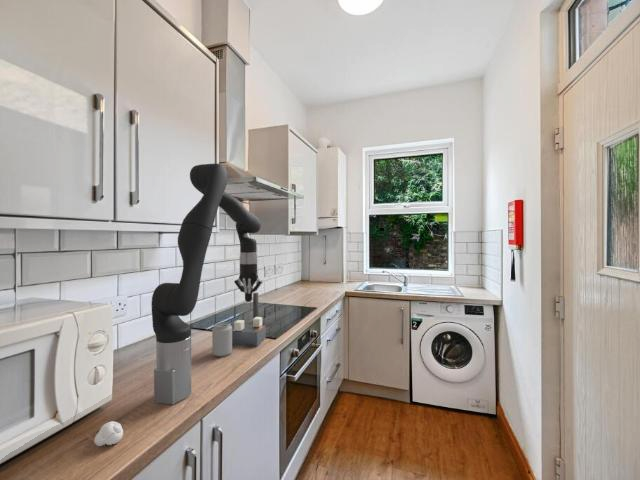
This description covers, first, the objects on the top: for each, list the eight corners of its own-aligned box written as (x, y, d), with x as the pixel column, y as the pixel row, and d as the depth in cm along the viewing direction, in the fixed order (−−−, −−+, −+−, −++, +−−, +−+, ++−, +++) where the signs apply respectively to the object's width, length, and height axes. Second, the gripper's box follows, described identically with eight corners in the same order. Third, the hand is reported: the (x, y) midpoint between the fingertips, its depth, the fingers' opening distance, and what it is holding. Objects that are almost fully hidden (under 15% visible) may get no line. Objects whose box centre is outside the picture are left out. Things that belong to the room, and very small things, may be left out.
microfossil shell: (124, 422, 66) (118, 413, 70) (95, 434, 63) (90, 425, 67) (125, 441, 66) (120, 432, 70) (96, 455, 63) (92, 444, 66)
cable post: (258, 337, 134) (258, 294, 133) (249, 336, 135) (249, 293, 134) (262, 334, 138) (261, 292, 138) (253, 333, 139) (253, 291, 138)
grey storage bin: (257, 346, 123) (257, 332, 122) (230, 344, 125) (230, 330, 124) (265, 338, 132) (265, 325, 132) (241, 336, 134) (241, 323, 134)
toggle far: (259, 327, 129) (259, 319, 129) (253, 326, 129) (253, 319, 129) (262, 324, 132) (262, 317, 132) (256, 324, 133) (256, 316, 133)
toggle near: (240, 330, 124) (240, 322, 124) (234, 330, 124) (234, 322, 124) (244, 328, 127) (244, 320, 127) (237, 327, 128) (237, 319, 128)
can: (226, 358, 111) (226, 327, 111) (208, 356, 113) (208, 326, 112) (235, 350, 119) (235, 321, 118) (218, 349, 120) (218, 320, 120)
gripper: (230, 263, 125) (230, 302, 126) (259, 263, 123) (259, 304, 123) (238, 261, 132) (238, 298, 133) (265, 261, 130) (265, 300, 131)
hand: (248, 301), depth 128 cm, fingers closed
